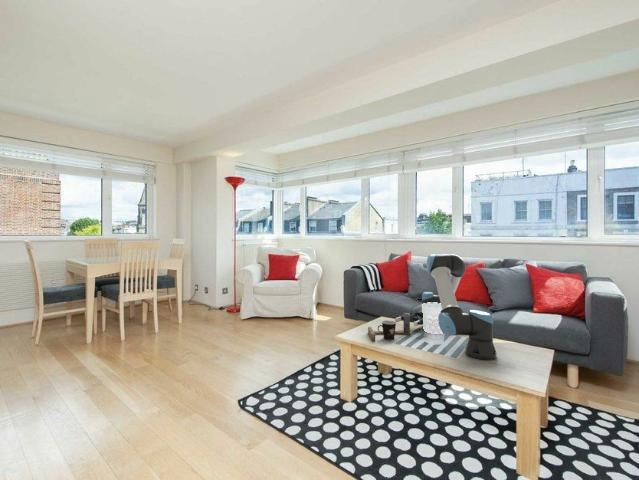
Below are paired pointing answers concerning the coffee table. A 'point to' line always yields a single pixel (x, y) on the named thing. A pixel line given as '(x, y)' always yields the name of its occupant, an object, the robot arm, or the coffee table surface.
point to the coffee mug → (388, 329)
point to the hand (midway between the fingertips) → (404, 322)
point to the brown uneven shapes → (406, 331)
